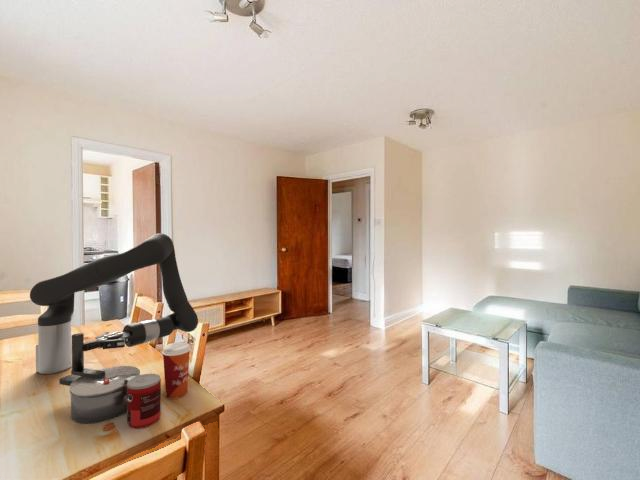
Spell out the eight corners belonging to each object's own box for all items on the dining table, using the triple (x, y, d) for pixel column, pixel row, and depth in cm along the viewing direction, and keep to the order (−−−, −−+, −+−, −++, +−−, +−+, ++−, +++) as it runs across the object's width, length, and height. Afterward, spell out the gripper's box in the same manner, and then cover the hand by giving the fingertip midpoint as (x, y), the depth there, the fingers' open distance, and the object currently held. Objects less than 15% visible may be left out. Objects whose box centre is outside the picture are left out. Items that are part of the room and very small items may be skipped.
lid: (159, 373, 93) (159, 332, 93) (108, 402, 77) (108, 353, 77) (101, 364, 100) (100, 326, 99) (42, 389, 84) (42, 343, 83)
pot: (161, 397, 93) (161, 375, 93) (114, 430, 78) (114, 403, 78) (90, 386, 100) (90, 365, 100) (34, 414, 85) (33, 389, 84)
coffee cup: (179, 402, 91) (179, 352, 91) (155, 399, 93) (155, 349, 92) (196, 388, 99) (196, 342, 99) (174, 385, 101) (174, 340, 101)
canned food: (136, 412, 86) (135, 373, 85) (165, 411, 86) (165, 372, 86) (120, 430, 78) (120, 387, 78) (153, 428, 79) (153, 386, 78)
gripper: (151, 347, 103) (91, 365, 89) (132, 339, 111) (73, 354, 96) (151, 325, 103) (91, 340, 89) (132, 318, 111) (73, 331, 96)
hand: (82, 347), depth 93 cm, fingers closed
